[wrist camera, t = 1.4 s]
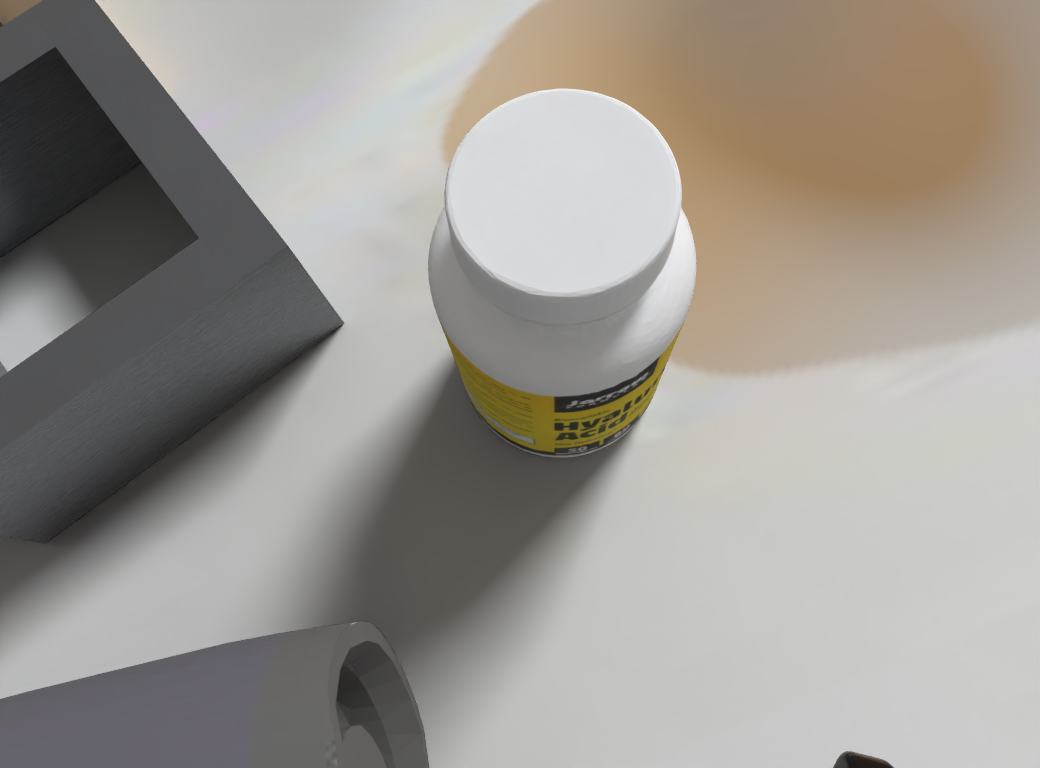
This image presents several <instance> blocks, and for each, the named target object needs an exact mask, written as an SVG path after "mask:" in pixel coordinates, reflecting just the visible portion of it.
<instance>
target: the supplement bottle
mask: <svg viewBox="0 0 1040 768" xmlns="http://www.w3.org/2000/svg"><path fill="white" fill-rule="evenodd" d="M681 202H682V187H681V181H680V175H679V171H678V167H677V163H676V161H675V158H674V156H673V153H672V151H671V149H670V148H669V146H668V144H667V142H666V141H665V140H664V138H663V137H662V135H661V134H660V132H659V131H658V130H657V129H656V128H655V127H654V126H653V125H652V124H651V123H650V122H649V121H648V120H647V119H646V118H644V117H643V116H642V115H641V114H639V113H638V112H637V111H636V110H634V109H633V108H631V107H630V106H628V105H627V104H625V103H623V102H621V101H619V100H616V99H614V98H612V97H608V96H605V95H603V94H599V93H595V92H591V91H585V90H577V89H552V90H544V91H537V92H533V93H529V94H526V95H523V96H520V97H518V98H515V99H513V100H510V101H508V102H506V103H504V104H502V105H501V106H499V107H497V108H496V109H494V110H492V111H491V112H490V113H488V114H487V115H486V116H485V117H483V118H482V119H481V120H479V122H478V123H476V125H474V127H473V128H472V129H471V130H470V131H469V132H468V133H467V135H466V136H465V137H464V138H463V140H462V141H461V143H460V145H459V146H458V148H457V150H456V152H455V154H454V157H453V159H452V161H451V164H450V166H449V169H448V174H447V178H446V184H445V207H444V209H443V210H442V212H441V214H440V216H439V218H438V221H437V224H436V226H435V229H434V232H433V236H432V240H431V243H430V250H429V260H428V272H429V284H430V290H431V294H432V299H433V303H434V307H435V310H436V313H437V316H438V318H439V321H440V324H441V326H442V328H443V331H444V333H445V336H446V338H447V341H448V344H449V346H450V348H451V351H452V353H453V356H454V359H455V362H456V364H457V367H458V369H459V372H460V375H461V379H462V381H463V384H464V386H465V389H466V392H467V394H468V396H469V398H470V400H471V402H472V404H473V406H474V408H475V410H476V411H477V413H478V414H479V416H480V417H481V418H482V420H483V421H484V422H485V424H486V425H487V426H488V427H489V428H490V429H491V430H492V431H494V432H495V433H496V434H497V435H498V436H499V437H501V438H502V439H503V440H505V441H506V442H508V443H510V444H511V445H513V446H515V447H517V448H519V449H521V450H524V451H526V452H529V453H532V454H536V455H540V456H545V457H555V458H567V457H575V456H581V455H585V454H589V453H592V452H595V451H597V450H600V449H602V448H604V447H606V446H608V445H610V444H612V443H614V442H615V441H617V440H618V439H619V438H621V437H622V436H623V435H625V434H626V433H627V432H628V431H629V430H630V429H631V428H632V427H633V426H634V425H635V424H636V423H637V422H638V420H639V419H640V418H641V416H642V415H643V414H644V412H645V410H646V409H647V407H648V406H649V404H650V402H651V400H652V398H653V395H654V393H655V391H656V388H657V386H658V383H659V381H660V378H661V375H662V373H663V371H664V368H665V366H666V363H667V361H668V359H669V356H670V354H671V351H672V349H673V347H674V344H675V342H676V339H677V337H678V335H679V332H680V330H681V328H682V326H683V323H684V321H685V318H686V315H687V312H688V310H689V306H690V303H691V299H692V296H693V291H694V285H695V278H696V253H695V246H694V241H693V236H692V233H691V230H690V227H689V223H688V220H687V218H686V217H685V214H684V212H683V210H682V209H681Z"/></svg>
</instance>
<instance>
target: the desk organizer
mask: <svg viewBox="0 0 1040 768" xmlns="http://www.w3.org/2000/svg"><path fill="white" fill-rule="evenodd" d="M141 161H142V163H143V164H144V165H145V167H146V168H147V169H148V171H149V172H150V173H151V175H152V176H153V177H154V179H155V180H156V181H157V183H158V184H159V185H160V187H161V188H162V189H163V191H164V192H165V193H166V195H167V196H168V197H169V199H170V200H171V201H172V203H173V204H174V205H175V207H176V208H177V209H178V211H179V212H180V213H181V215H182V216H183V217H184V219H185V220H186V221H187V223H188V224H189V225H190V227H191V228H192V229H193V231H194V232H195V233H196V235H197V236H198V237H199V239H197V240H196V241H194V242H193V243H192V244H190V245H189V246H187V247H186V248H184V249H183V250H182V251H180V252H179V253H177V254H176V255H174V256H173V257H172V258H170V259H169V260H167V261H166V262H164V263H163V264H162V265H160V266H159V267H157V268H156V269H154V270H153V271H152V272H150V273H149V274H147V275H146V276H144V277H143V278H142V279H140V280H139V281H137V282H136V283H134V284H133V285H132V286H130V287H129V288H127V289H126V290H124V291H123V292H122V293H120V294H119V295H117V296H116V297H114V298H113V299H112V300H110V301H109V302H107V303H106V304H104V305H103V306H102V307H100V308H99V309H97V310H96V311H94V312H93V313H92V314H90V315H89V316H87V317H86V318H84V319H83V320H82V321H80V322H79V323H77V324H76V325H74V326H73V327H72V328H70V329H69V330H67V331H66V332H64V333H63V334H62V335H60V336H59V337H57V338H56V339H54V340H53V341H52V342H50V343H49V344H47V345H46V346H44V347H43V348H42V349H40V350H39V351H37V352H36V353H34V354H33V355H32V356H30V357H29V358H27V359H26V360H24V361H23V362H22V363H20V364H19V365H17V366H16V367H14V368H13V369H12V370H10V371H9V372H6V370H5V368H4V367H3V365H2V364H1V362H0V536H3V537H9V538H15V539H21V540H27V541H33V542H39V543H46V542H48V541H49V540H51V539H52V538H53V537H55V536H56V535H57V534H59V533H60V532H61V531H63V530H64V529H65V528H67V527H68V526H70V525H71V524H72V523H74V522H75V521H76V520H78V519H79V518H80V517H82V516H83V515H84V514H86V513H87V512H88V511H90V510H91V509H93V508H94V507H95V506H97V505H98V504H99V503H101V502H102V501H103V500H105V499H106V498H107V497H109V496H110V495H112V494H113V493H114V492H116V491H117V490H118V489H120V488H121V487H122V486H124V485H125V484H126V483H128V482H129V481H130V480H132V479H133V478H135V477H136V476H137V475H139V474H140V473H141V472H143V471H144V470H145V469H147V468H148V467H149V466H151V465H152V464H154V463H155V462H156V461H158V460H159V459H160V458H162V457H163V456H164V455H166V454H167V453H168V452H170V451H171V450H173V449H174V448H175V447H177V446H178V445H179V444H181V443H182V442H183V441H185V440H186V439H187V438H189V437H190V436H191V435H193V434H194V433H196V432H197V431H198V430H200V429H201V428H202V427H204V426H205V425H206V424H208V423H209V422H210V421H212V420H213V419H215V418H216V417H217V416H219V415H220V414H221V413H223V412H224V411H225V410H227V409H228V408H229V407H231V406H232V405H234V404H235V403H236V402H238V401H239V400H240V399H242V398H243V397H244V396H246V395H247V394H248V393H250V392H251V391H252V390H254V389H255V388H257V387H258V386H259V385H261V384H262V383H263V382H265V381H266V380H267V379H269V378H270V377H271V376H273V375H274V374H276V373H277V372H278V371H280V370H281V369H282V368H284V367H285V366H286V365H288V364H289V363H290V362H292V361H293V360H295V359H296V358H297V357H299V356H300V355H301V354H303V353H304V352H305V351H307V350H308V349H309V348H311V347H312V346H313V345H315V344H316V343H318V342H319V341H320V340H322V339H323V338H324V337H326V336H327V335H328V334H330V333H331V332H332V331H334V330H335V329H337V328H338V327H339V326H341V325H342V324H343V323H344V322H343V321H342V320H341V318H340V317H339V315H338V314H337V313H336V311H335V310H334V309H333V307H332V306H331V304H330V303H329V302H328V300H327V299H326V298H325V296H324V295H323V293H322V292H321V291H320V289H319V288H318V287H317V285H316V284H315V282H314V281H313V280H312V278H311V277H310V276H309V274H308V273H307V271H306V270H305V269H304V267H303V266H302V265H301V263H300V262H299V260H298V259H297V258H296V256H295V255H294V254H293V252H292V251H291V249H290V248H289V247H288V245H287V244H286V243H285V242H284V240H283V239H282V238H281V236H280V235H279V234H278V233H277V231H276V230H275V229H274V228H273V226H272V225H271V224H270V222H269V221H268V220H267V219H266V217H265V216H264V215H263V214H262V212H261V211H260V210H259V208H258V207H257V206H256V205H255V203H254V202H253V201H252V200H251V198H250V197H249V196H248V195H247V193H246V192H245V191H244V189H243V188H242V187H241V186H240V184H239V183H238V182H237V181H236V179H235V178H234V177H233V175H232V174H231V173H230V172H229V170H228V169H227V168H226V167H225V165H224V164H223V163H222V161H221V160H220V159H219V158H218V156H217V155H216V154H215V153H214V151H213V150H212V149H211V147H210V146H209V145H208V144H207V142H206V141H205V140H204V139H203V137H202V136H201V135H200V134H199V132H198V131H197V130H196V128H195V127H194V126H193V125H192V123H191V122H190V121H189V120H188V118H187V117H186V116H185V114H184V113H183V112H182V111H181V109H180V108H179V107H178V106H177V104H176V103H175V102H174V100H173V99H172V98H171V97H170V95H169V94H168V93H167V92H166V90H165V89H164V88H163V86H162V85H161V84H160V83H159V81H158V80H157V79H156V78H155V76H154V75H153V74H152V72H151V71H150V70H149V69H148V67H147V66H146V65H145V64H144V62H143V61H142V60H141V59H140V57H139V56H138V55H137V53H136V52H135V51H134V50H133V48H132V47H131V46H130V45H129V43H128V42H127V41H126V39H125V38H124V37H123V36H122V34H121V33H120V32H119V31H118V29H117V28H116V27H115V25H114V24H113V23H112V22H111V20H110V19H109V18H108V17H107V15H106V14H105V13H104V11H103V10H102V9H101V8H100V6H99V5H98V4H97V3H96V1H95V0H0V257H1V256H2V255H4V254H5V253H7V252H8V251H10V250H11V249H13V248H14V247H16V246H17V245H19V244H20V243H22V242H23V241H25V240H26V239H28V238H29V237H30V236H32V235H33V234H35V233H36V232H38V231H39V230H41V229H42V228H44V227H45V226H47V225H48V224H50V223H51V222H53V221H54V220H56V219H57V218H59V217H60V216H62V215H63V214H64V213H66V212H67V211H69V210H70V209H72V208H73V207H75V206H76V205H78V204H79V203H81V202H82V201H84V200H85V199H87V198H88V197H90V196H91V195H93V194H94V193H96V192H97V191H98V190H100V189H101V188H103V187H104V186H106V185H107V184H109V183H110V182H112V181H113V180H115V179H116V178H118V177H119V176H121V175H122V174H124V173H125V172H127V171H128V170H129V169H131V168H132V167H134V166H135V165H137V164H138V163H140V162H141Z"/></svg>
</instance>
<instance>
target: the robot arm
mask: <svg viewBox="0 0 1040 768" xmlns="http://www.w3.org/2000/svg"><path fill="white" fill-rule="evenodd" d="M833 768H894V767H893V766H891V765H890V764H889V763H888V762H887V761H885V760H882V759H879V758H875V757H871V756H867V755H863V754H859V753H855V752H852V751H846V752H844V753H842V754H841V755H840V756H839V758H838V759H837V761H836V763H835V765H834V767H833Z"/></svg>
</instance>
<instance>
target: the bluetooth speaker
mask: <svg viewBox="0 0 1040 768" xmlns="http://www.w3.org/2000/svg"><path fill="white" fill-rule="evenodd" d="M0 768H429V763H428V756H427V749H426V741H425V733H424V729H423V725H422V721H421V718H420V714H419V710H418V707H417V704H416V701H415V698H414V696H413V693H412V691H411V688H410V685H409V683H408V680H407V678H406V676H405V673H404V671H403V669H402V667H401V665H400V663H399V661H398V659H397V657H396V655H395V653H394V651H393V649H392V648H391V646H390V644H389V643H388V641H387V640H386V638H385V637H384V635H383V634H382V633H381V632H380V631H379V629H378V628H377V627H376V626H374V625H373V624H372V623H370V622H366V621H359V622H352V623H345V624H337V625H330V626H323V627H316V628H312V629H305V630H298V631H291V632H285V633H279V634H274V635H268V636H263V637H257V638H252V639H246V640H241V641H236V642H230V643H226V644H222V645H218V646H214V647H209V648H205V649H201V650H197V651H193V652H189V653H185V654H181V655H176V656H172V657H168V658H164V659H160V660H156V661H152V662H148V663H143V664H139V665H135V666H131V667H127V668H123V669H119V670H114V671H110V672H106V673H102V674H98V675H94V676H90V677H86V678H82V679H78V680H74V681H70V682H66V683H62V684H58V685H53V686H49V687H45V688H41V689H37V690H33V691H29V692H25V693H22V694H18V695H14V696H10V697H7V698H3V699H0Z"/></svg>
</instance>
